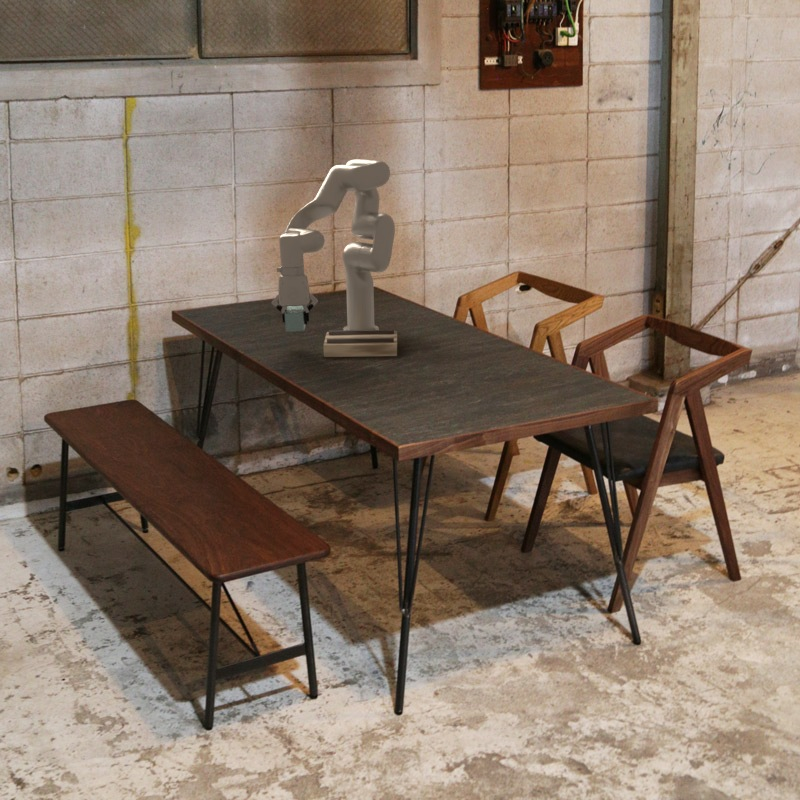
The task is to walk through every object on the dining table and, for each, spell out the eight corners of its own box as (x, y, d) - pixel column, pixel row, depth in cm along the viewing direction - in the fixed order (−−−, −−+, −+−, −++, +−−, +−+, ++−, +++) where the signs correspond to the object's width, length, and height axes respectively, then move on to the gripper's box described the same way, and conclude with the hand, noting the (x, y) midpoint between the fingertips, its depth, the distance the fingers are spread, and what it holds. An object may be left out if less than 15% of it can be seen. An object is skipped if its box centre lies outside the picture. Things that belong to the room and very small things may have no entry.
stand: (327, 343, 441) (326, 328, 439) (397, 342, 440) (397, 327, 439) (323, 357, 423) (323, 341, 422) (396, 355, 423) (396, 340, 422)
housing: (288, 322, 436) (287, 305, 434) (306, 321, 436) (305, 304, 434) (285, 331, 425) (284, 313, 423) (303, 331, 425) (302, 313, 423)
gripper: (265, 274, 421) (269, 327, 427) (318, 272, 421) (321, 326, 426) (267, 269, 428) (271, 322, 434) (319, 267, 428) (322, 320, 433)
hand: (296, 323), depth 430 cm, fingers closed on housing, 6 cm apart
